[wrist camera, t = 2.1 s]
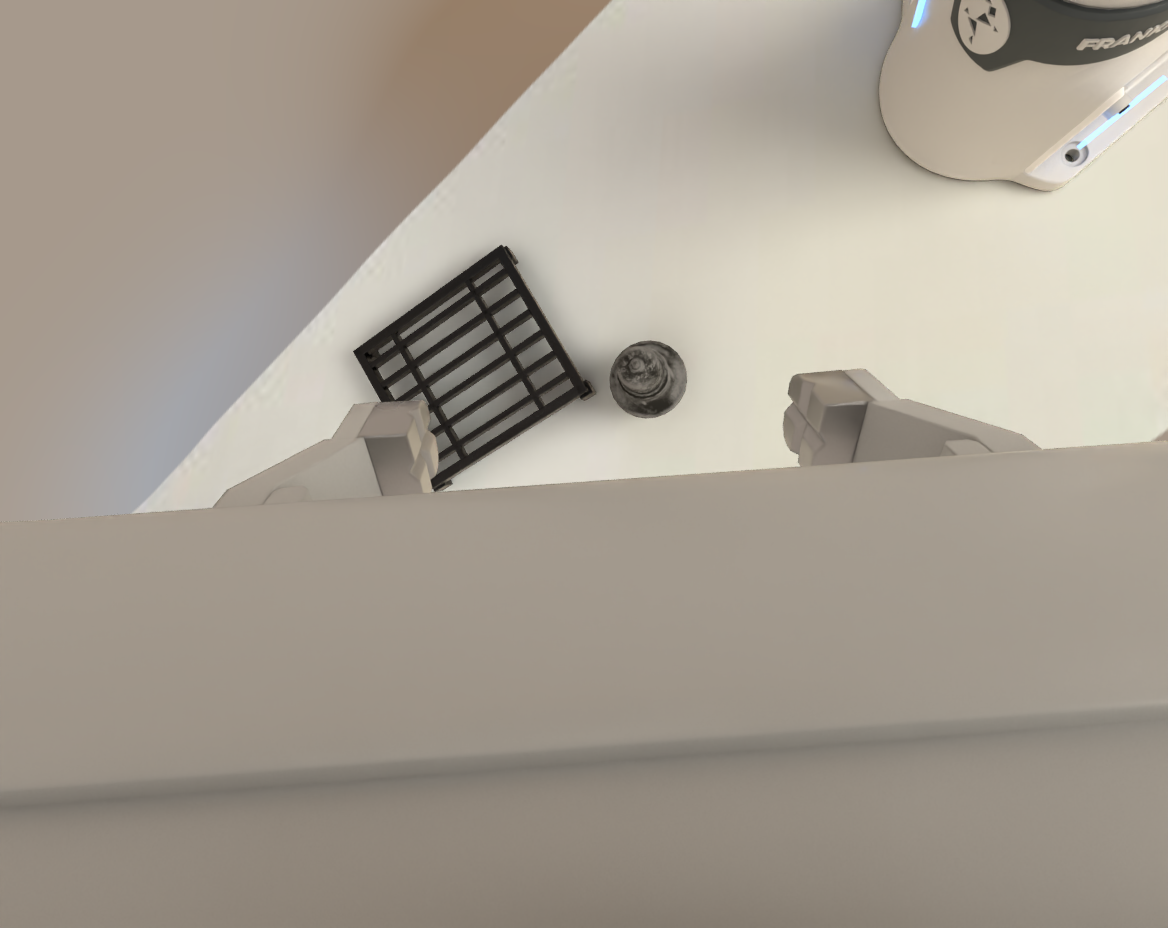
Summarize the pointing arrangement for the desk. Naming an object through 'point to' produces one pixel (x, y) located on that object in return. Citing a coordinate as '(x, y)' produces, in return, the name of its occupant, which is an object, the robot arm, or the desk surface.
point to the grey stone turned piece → (648, 379)
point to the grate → (373, 360)
